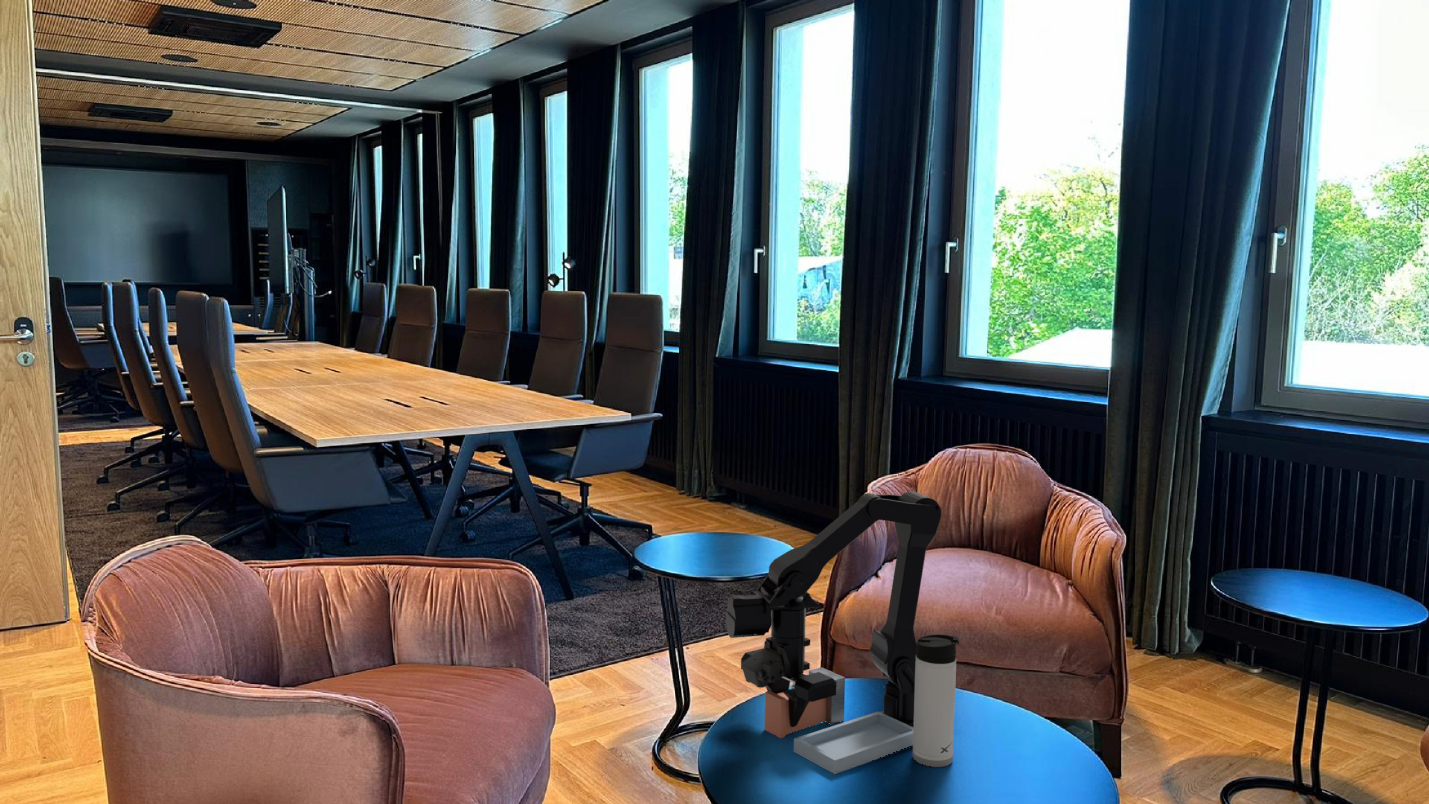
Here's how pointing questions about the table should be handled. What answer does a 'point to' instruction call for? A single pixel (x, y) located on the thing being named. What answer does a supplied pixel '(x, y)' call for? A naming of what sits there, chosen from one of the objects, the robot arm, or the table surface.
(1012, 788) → the table surface
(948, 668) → the travel mug
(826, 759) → the tray
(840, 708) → the bracket
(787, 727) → the pink curved block
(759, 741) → the table surface
